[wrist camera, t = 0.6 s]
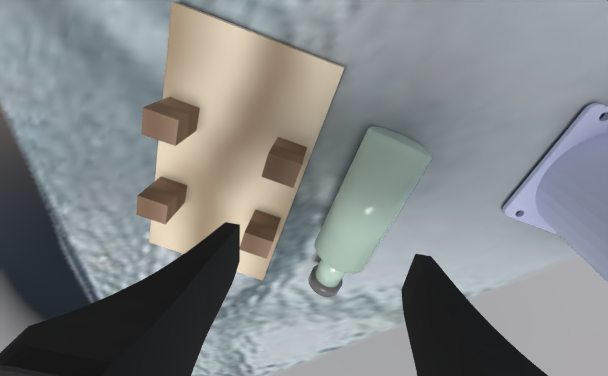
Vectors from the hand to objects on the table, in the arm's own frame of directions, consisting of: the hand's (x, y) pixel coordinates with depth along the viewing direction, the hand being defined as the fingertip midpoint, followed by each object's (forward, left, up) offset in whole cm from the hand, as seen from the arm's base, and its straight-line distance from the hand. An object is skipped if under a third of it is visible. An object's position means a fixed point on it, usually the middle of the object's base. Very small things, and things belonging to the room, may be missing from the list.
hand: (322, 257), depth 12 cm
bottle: (-3, +3, -10) cm, 10 cm away
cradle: (+7, +3, -9) cm, 12 cm away
